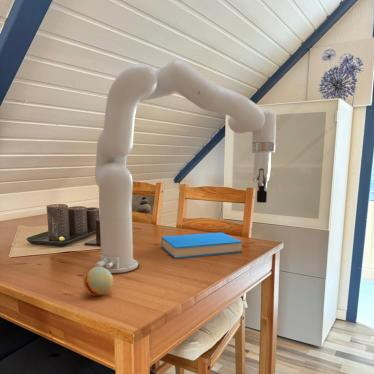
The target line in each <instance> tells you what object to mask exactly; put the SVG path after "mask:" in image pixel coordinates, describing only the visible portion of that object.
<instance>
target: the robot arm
mask: <svg viewBox="0 0 374 374" xmlns="http://www.w3.org/2000/svg"><path fill="white" fill-rule="evenodd" d="M174 94H179V95H180V96H181V97H183V98H185V99H186V100H188V101H190V103H192V104H194V105H195V106H197V107H198V108H200V109H201V110H204V111H208V112H212V113H218V114H222V115H225V116H228V120H227V124H228V127H229V129H230V130H231V131H232V132H234V133H237V134H244V133H252V136H251V137H252V138H251V139H252V141H251V143H252V144H251V153H252V154H254V158H253V173H252V174H253V175H252V182H253V183H256V182H257V189H256V203H262V204H263V203H265V204H266V203H267V201H268V200H267V199H268V197H267V196H268V190H267V188H268V187H267V185H268V182H269V181H270V174H271V166H272V165H271V162H272V161H271V160H272V153H275V152H276V151H275V150H276V128H277V127H276V125H277V123H276V122H277V113H276V111H275V110H273V109H272V110H271V109H262V108H261V107H260V106H259V105H258V104H257V103H255V102H254V101H252V99H250V98H249V97H246V96H245V95H243V94H242V93H239V92H237V91H235V90H232V89H230V88H227V87H224V86H222V85H219V84H217V83H216V82H215V81H213V80H211V79H210V78H208V77H207V76H205V75H204V74H203V73H202V72H200V71H199V70H197V69H196V68H194V67H193V66H192V65H191V64H189V63H187V62H186V61H184V60H181V59H173V60H171V61H170V62H168V63H167V64H165V66H163V67H161V68H155V69H154V68H153V66H151V65H149V64H146V63H137V64H134V65H131V66H129V67H127V68H125V69H124V70H122V71H121V72H120V73H119V74H118V75H117V76H116V77H115V79H114V81H113V82H112V84H111V86H110V88H109V91H108V94H107V97H106V104H105V112H104V122H103V128H102V129H103V130H102V131H101V133H100V134H99V136H98V139H97V143H96V154H95V155H96V157H95V170H94V180H95V183H96V185H97V186H98V214H99V216H98V217H99V218H98V219H100V239H101V246H100V261H98V262H96V263H95V264H94V267H103V268H106V269H107V270H108V271H109V272H110V273H111V274H121V273H122V274H123V273H128V272H132V271H134V270H136V269H137V268H138V267H139V262H138V260H136V259H134V244H133V243H134V241H133V187H134V182H133V180H134V179H133V176H132V173H131V171H130V170H129V168H127V158H128V156H129V155H130V154H131V152H132V150H133V148H134V134H135V123H136V121H135V120H136V114H137V109H138V106H139V103H140V102H145V101H149V100H154V99H159V98H164V97H167V96H171V95H174Z"/></svg>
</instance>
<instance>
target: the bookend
mask: <svg viewBox="0 0 374 374" xmlns="http://www.w3.org/2000/svg"><path fill="white" fill-rule="evenodd" d="M94 222H95V238H93V239H90V240H88V241H86V242H84V245H85V246H92V247H93V246H95V247H101V239H100V218H97V219H95V221H94Z"/></svg>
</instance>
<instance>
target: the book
mask: <svg viewBox="0 0 374 374" xmlns="http://www.w3.org/2000/svg"><path fill="white" fill-rule="evenodd" d="M242 243H243V241H241V240H240V239H237V238H235V237H232V236H231V235H228V234H226V233H224V232H209V233H195V234H183V235H169V236H168V235H167V236H162V237H161V248H162V249H163V250H165V251H166V252H167V253H168V254H169V255H170V256H171V257H173V258H174V259H177V260H178V259H187V258H199V257H208V256H216V255H218V256H219V255H227V254H239V253H242Z"/></svg>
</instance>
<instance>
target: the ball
mask: <svg viewBox="0 0 374 374" xmlns="http://www.w3.org/2000/svg"><path fill="white" fill-rule="evenodd" d="M82 282H83V283H82V284H83V288H84V290H85V291H86V292H87V293H88V294H89V295H91V296H95V297H100V296H104V295H106V294H108V293H109V291H111V288H112V287H113V283H114V277H113V275H112V273H110V272H109V271H108V270H107V269H106V268H103V267H95V266H94V267H91V268H90V269H89V270H88V271H86V273H85V274H84V276H83V280H82Z"/></svg>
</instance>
